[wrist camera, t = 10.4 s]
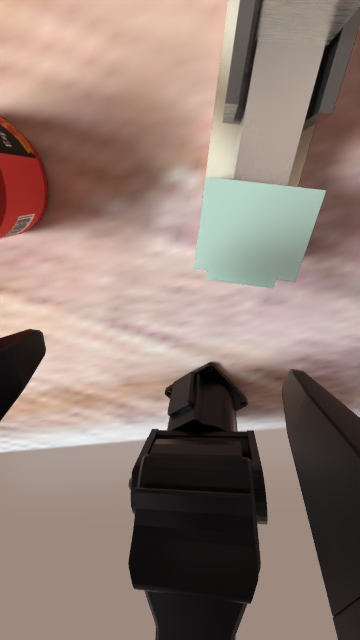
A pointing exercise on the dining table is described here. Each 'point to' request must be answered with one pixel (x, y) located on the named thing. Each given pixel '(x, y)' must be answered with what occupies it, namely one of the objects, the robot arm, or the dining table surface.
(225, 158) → the base board
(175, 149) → the dining table surface
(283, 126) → the light grey l-shaped piece
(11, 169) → the canned food
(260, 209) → the socket
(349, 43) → the sleeve
